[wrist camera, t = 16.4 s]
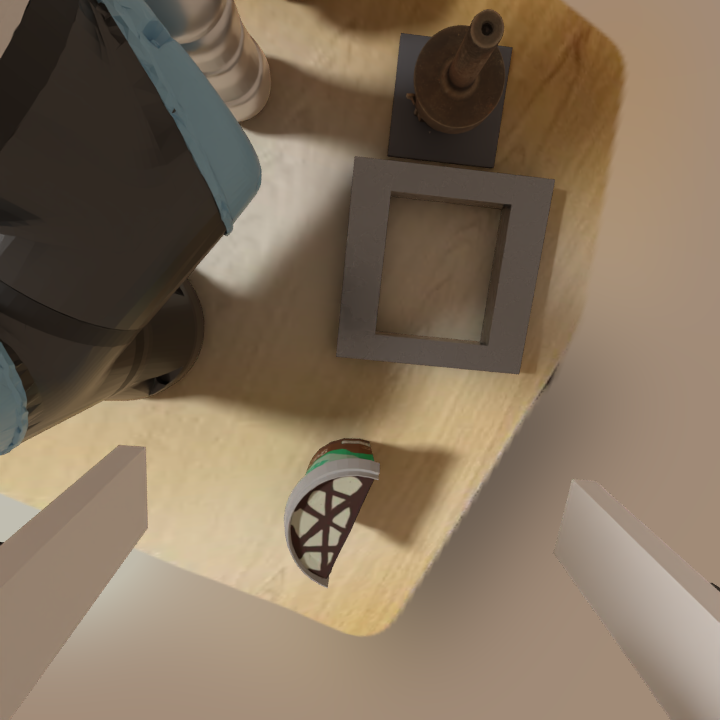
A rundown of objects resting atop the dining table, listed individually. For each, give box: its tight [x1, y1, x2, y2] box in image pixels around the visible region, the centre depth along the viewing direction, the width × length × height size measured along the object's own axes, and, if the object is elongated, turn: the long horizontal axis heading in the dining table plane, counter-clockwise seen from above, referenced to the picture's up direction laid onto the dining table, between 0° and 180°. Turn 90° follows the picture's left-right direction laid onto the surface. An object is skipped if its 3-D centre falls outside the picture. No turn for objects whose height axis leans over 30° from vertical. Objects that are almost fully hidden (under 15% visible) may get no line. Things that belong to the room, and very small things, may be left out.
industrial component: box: [406, 9, 505, 134], centre depth 32 cm, size 9×7×12 cm
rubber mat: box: [388, 33, 512, 168], centre depth 38 cm, size 10×10×1 cm
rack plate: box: [336, 156, 555, 374], centre depth 40 cm, size 18×18×2 cm
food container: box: [284, 438, 380, 588], centre depth 40 cm, size 12×6×10 cm, turn 157°
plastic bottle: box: [144, 0, 271, 122], centre depth 27 cm, size 6×7×20 cm
